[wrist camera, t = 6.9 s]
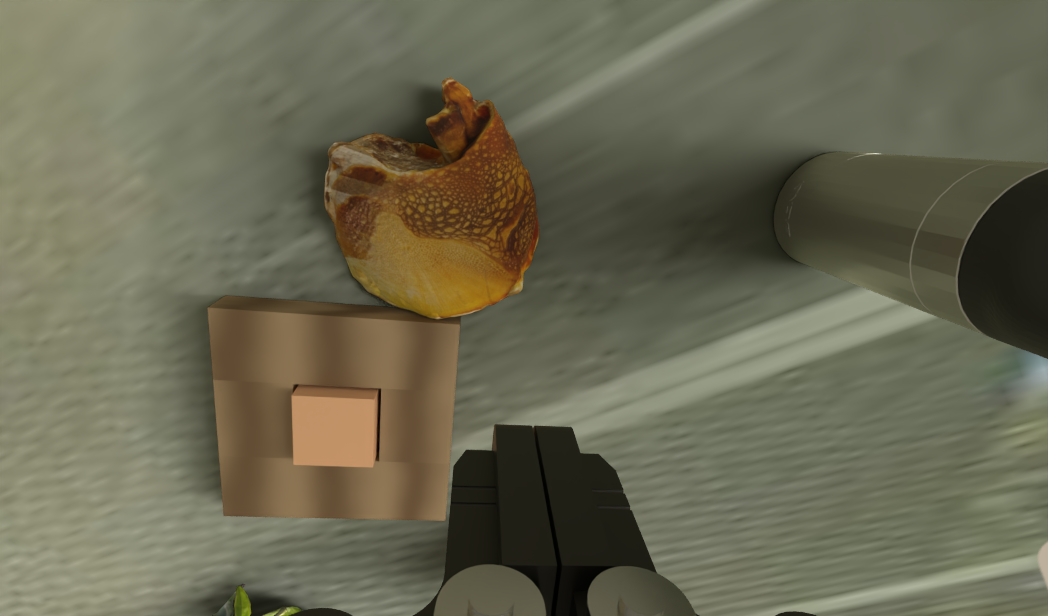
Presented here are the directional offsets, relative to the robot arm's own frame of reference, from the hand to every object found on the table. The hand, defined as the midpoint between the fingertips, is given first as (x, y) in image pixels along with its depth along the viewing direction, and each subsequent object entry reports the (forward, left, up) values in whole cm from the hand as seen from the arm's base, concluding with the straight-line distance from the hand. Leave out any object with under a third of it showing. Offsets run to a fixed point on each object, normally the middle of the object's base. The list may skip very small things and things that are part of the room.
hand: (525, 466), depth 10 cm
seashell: (+4, -1, -33) cm, 33 cm away
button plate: (+10, +17, -32) cm, 38 cm away
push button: (+10, +17, -31) cm, 37 cm away
